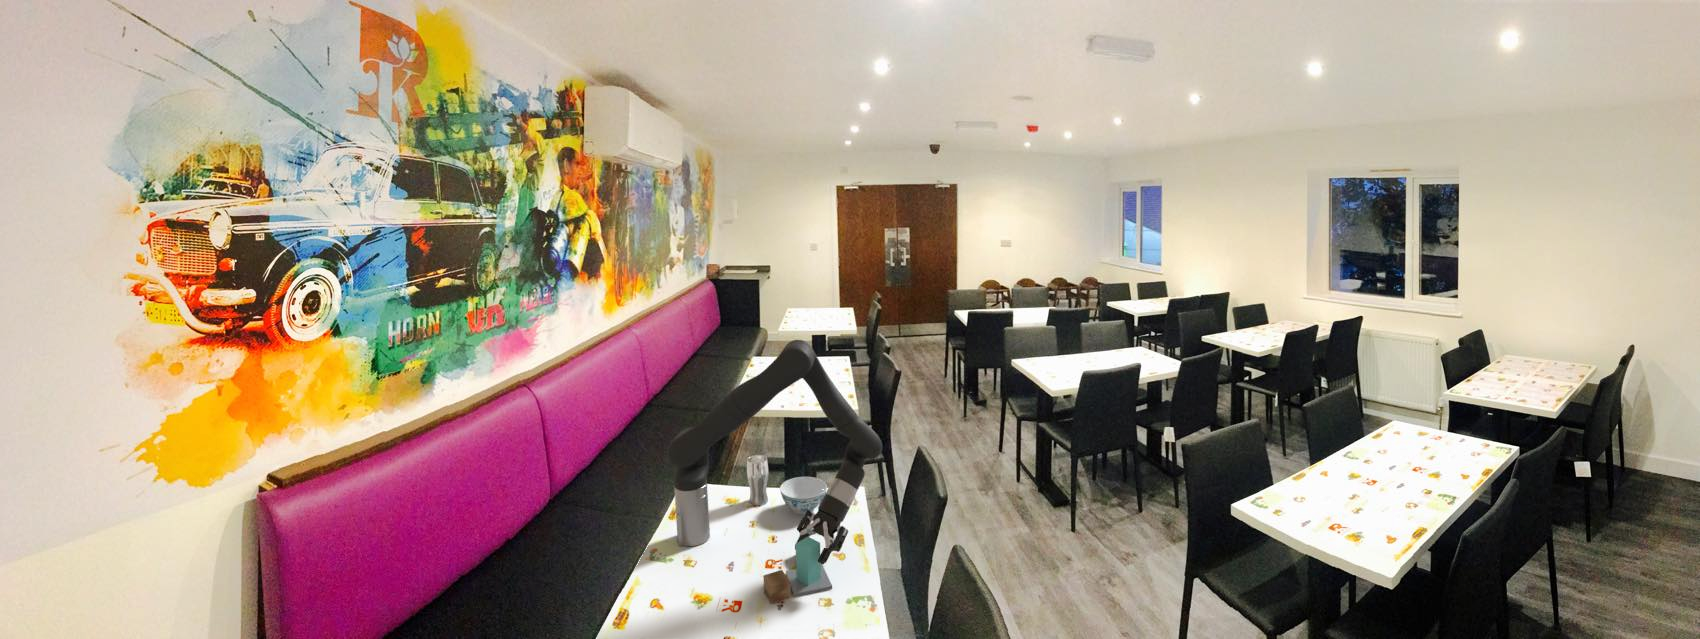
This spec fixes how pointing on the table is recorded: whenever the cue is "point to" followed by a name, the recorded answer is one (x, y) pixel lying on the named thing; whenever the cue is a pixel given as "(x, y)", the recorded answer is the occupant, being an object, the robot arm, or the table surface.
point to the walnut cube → (776, 586)
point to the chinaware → (803, 493)
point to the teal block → (808, 561)
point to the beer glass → (757, 479)
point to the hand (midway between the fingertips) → (808, 556)
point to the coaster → (802, 588)
